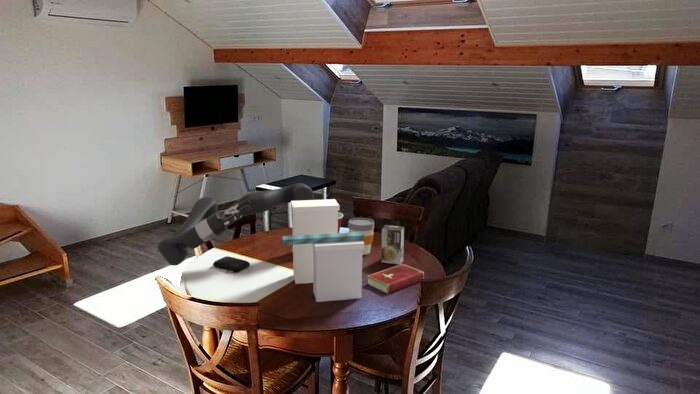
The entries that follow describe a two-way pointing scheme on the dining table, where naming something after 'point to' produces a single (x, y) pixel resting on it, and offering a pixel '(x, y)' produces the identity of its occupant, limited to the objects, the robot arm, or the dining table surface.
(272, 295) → the dining table surface
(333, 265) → the low stand
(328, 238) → the slat
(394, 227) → the coffee box
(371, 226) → the reusable coffee cup
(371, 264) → the dining table surface
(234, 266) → the carrying case or bag
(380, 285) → the hardcover book
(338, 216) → the plastic cup
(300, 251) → the tall stand
